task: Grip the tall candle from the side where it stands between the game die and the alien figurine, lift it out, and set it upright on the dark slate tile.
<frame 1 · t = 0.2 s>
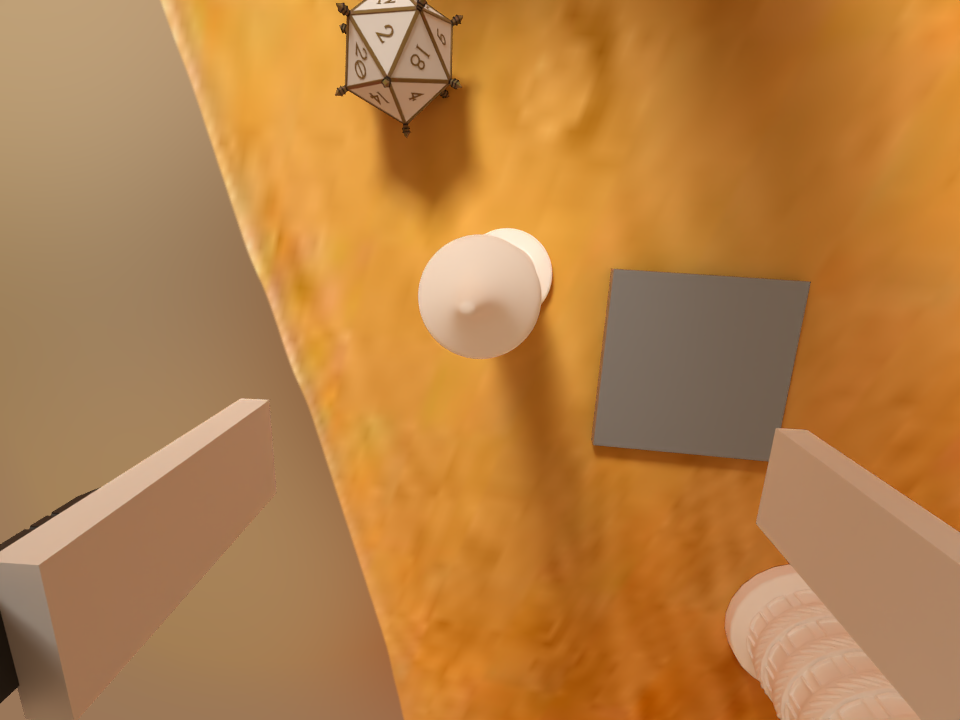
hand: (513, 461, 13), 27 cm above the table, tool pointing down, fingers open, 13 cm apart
decorative container: (793, 621, 43), on the table
slate tile: (690, 364, 39), on the table
game die: (413, 77, 37), on the table
candle: (506, 274, 39), on the table
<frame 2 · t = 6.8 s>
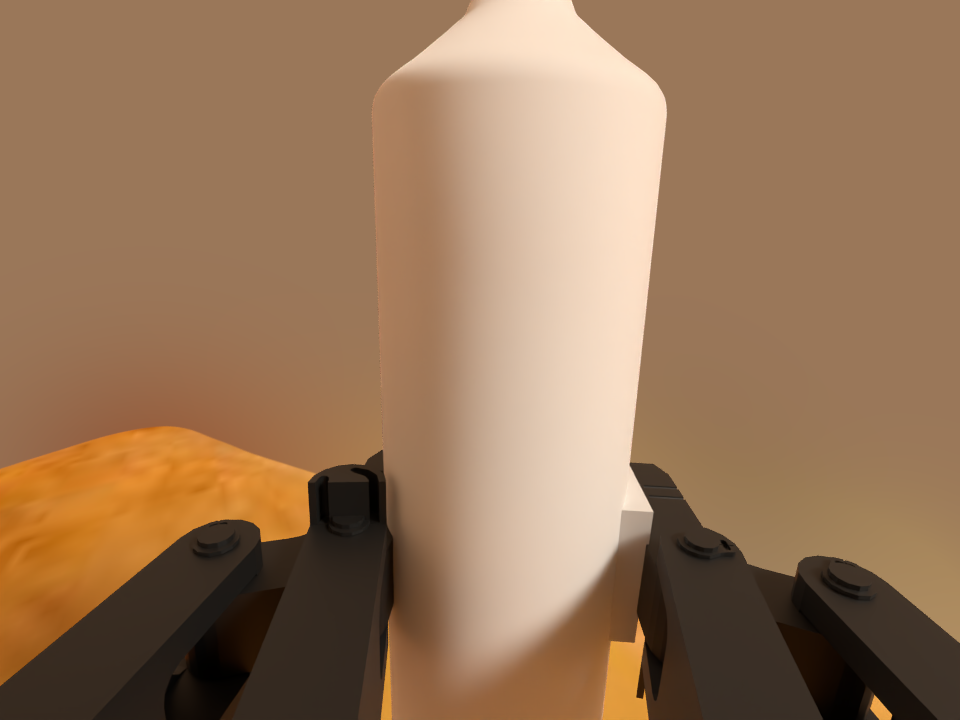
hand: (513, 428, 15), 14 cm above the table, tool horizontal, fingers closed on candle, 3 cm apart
when the fingers open (16 cm above the table, at t = 12.1 s): candle stays where it is, resting on slate tile.
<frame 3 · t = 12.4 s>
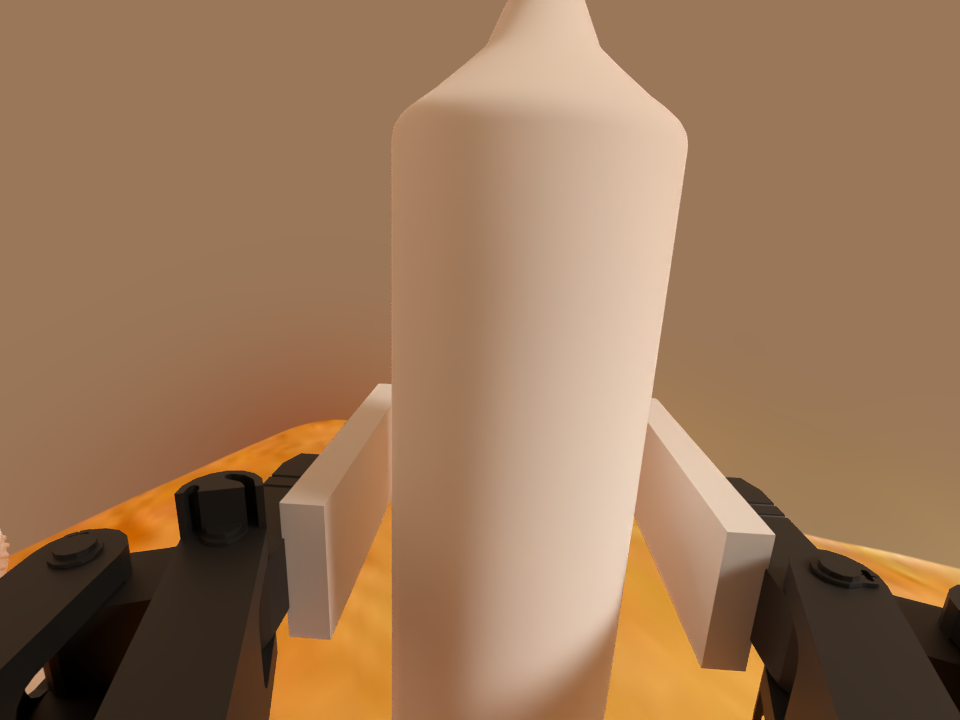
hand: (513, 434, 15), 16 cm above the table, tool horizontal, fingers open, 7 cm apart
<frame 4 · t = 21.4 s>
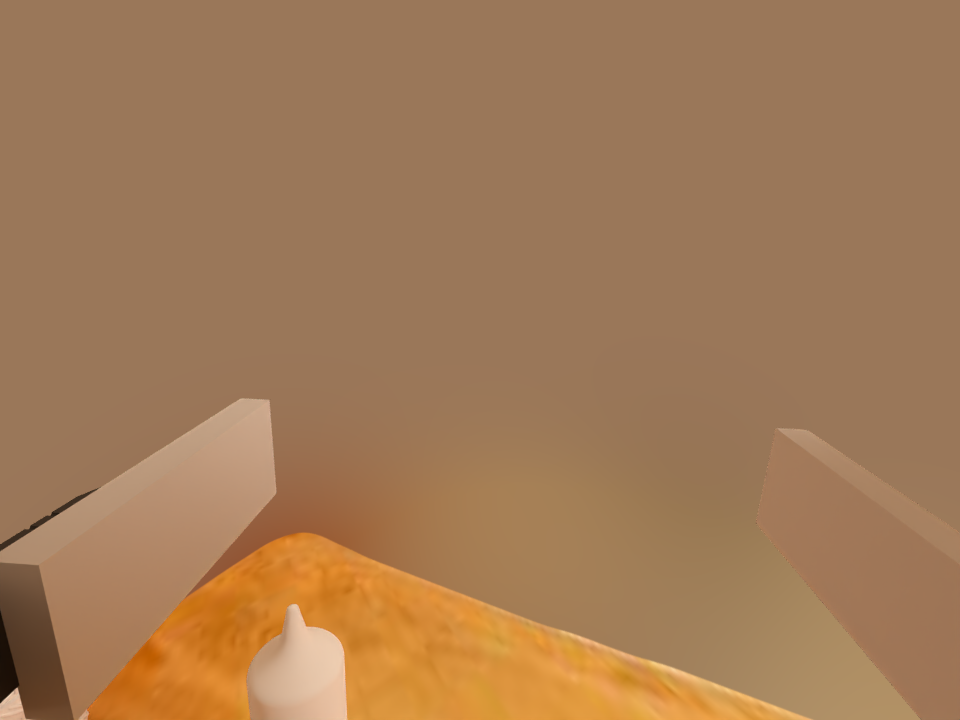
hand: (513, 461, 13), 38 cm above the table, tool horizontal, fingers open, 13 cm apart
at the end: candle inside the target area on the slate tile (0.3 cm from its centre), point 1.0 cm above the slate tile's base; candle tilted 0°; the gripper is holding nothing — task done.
